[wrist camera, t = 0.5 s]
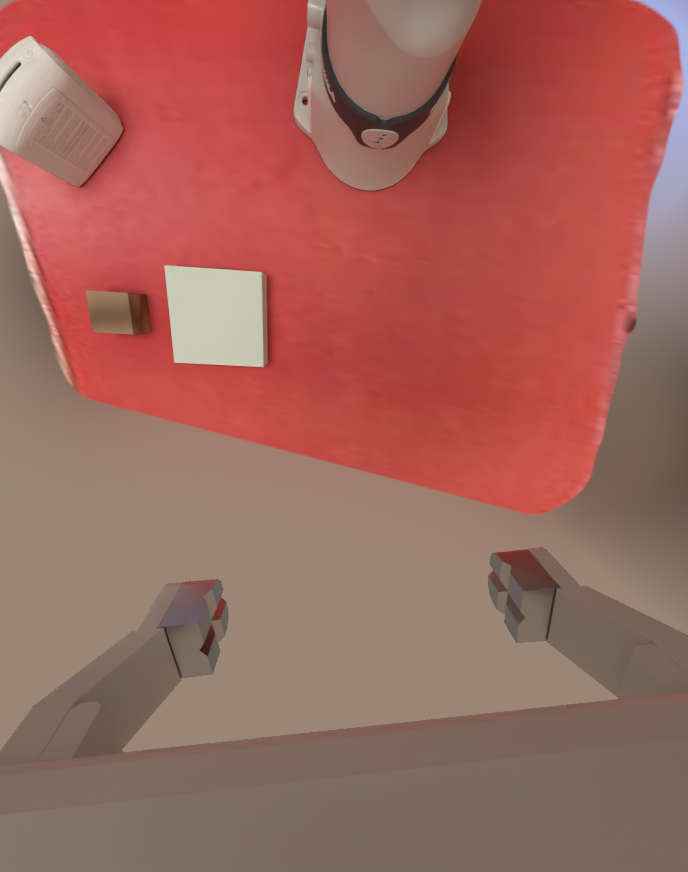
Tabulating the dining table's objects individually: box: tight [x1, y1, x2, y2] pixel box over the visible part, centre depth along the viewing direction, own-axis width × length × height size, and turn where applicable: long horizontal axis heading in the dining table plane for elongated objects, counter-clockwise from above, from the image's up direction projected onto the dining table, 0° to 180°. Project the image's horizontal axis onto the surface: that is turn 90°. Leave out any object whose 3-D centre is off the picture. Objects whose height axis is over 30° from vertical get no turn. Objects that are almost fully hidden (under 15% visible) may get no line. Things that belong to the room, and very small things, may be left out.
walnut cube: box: [86, 290, 151, 334], centre depth 46 cm, size 5×5×5 cm
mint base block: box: [164, 265, 268, 367], centre depth 47 cm, size 12×12×4 cm
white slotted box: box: [0, 36, 123, 187], centre depth 36 cm, size 10×4×12 cm, turn 132°
